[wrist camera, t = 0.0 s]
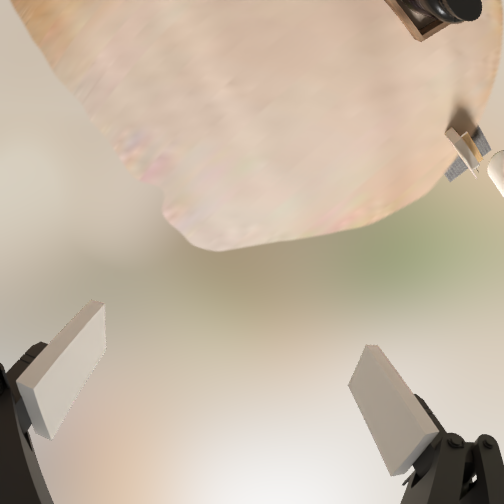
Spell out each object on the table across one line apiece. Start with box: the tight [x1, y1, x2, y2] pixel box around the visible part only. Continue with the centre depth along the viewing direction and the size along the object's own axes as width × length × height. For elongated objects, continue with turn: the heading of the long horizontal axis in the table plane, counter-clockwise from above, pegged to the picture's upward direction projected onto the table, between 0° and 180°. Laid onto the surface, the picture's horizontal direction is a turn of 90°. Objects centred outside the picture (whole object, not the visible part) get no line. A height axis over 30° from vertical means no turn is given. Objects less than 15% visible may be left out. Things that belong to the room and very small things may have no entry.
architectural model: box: [445, 127, 483, 179], centre depth 36 cm, size 3×7×7 cm, turn 55°
